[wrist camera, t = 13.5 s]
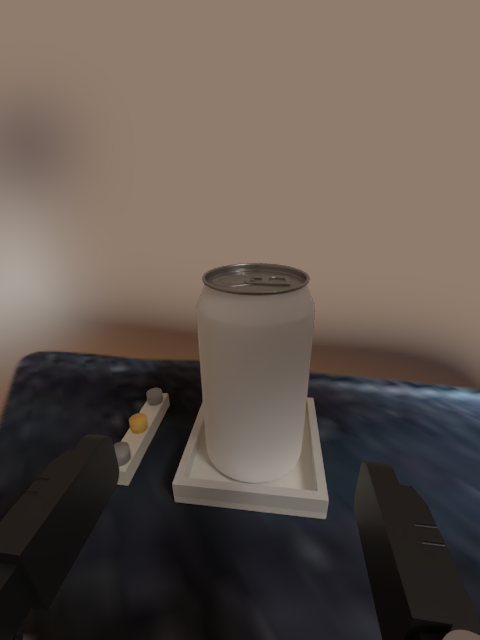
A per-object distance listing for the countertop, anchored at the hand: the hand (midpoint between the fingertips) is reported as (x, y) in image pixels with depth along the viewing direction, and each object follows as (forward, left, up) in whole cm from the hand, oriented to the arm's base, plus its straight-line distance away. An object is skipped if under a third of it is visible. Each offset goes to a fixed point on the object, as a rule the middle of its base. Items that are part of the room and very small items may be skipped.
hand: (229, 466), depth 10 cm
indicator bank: (+8, -9, -9) cm, 15 cm away
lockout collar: (0, -9, -9) cm, 12 cm away
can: (0, -9, -8) cm, 12 cm away
